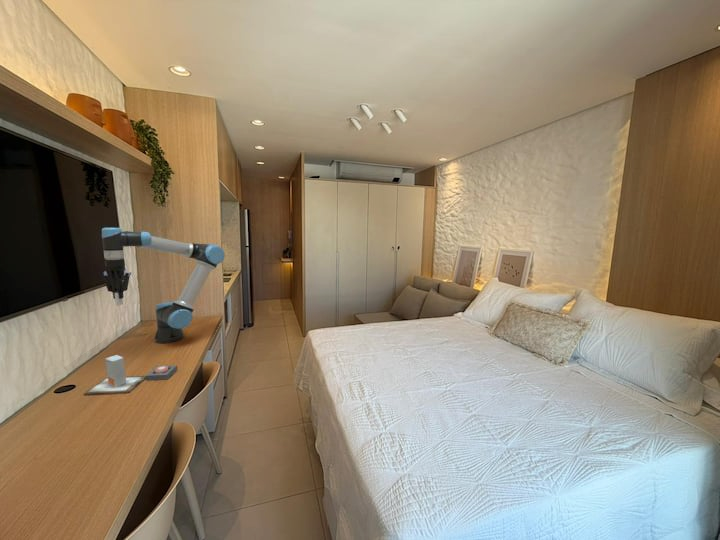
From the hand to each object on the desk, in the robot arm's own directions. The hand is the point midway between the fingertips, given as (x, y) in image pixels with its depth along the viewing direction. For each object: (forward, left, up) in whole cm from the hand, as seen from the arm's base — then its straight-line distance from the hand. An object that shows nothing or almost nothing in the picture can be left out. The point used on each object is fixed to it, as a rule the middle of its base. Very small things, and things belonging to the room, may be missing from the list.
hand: (119, 304), depth 145 cm
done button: (+19, +28, -29) cm, 44 cm away
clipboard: (+27, +14, -29) cm, 42 cm away
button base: (+19, +28, -29) cm, 45 cm away
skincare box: (+27, +14, -29) cm, 42 cm away
